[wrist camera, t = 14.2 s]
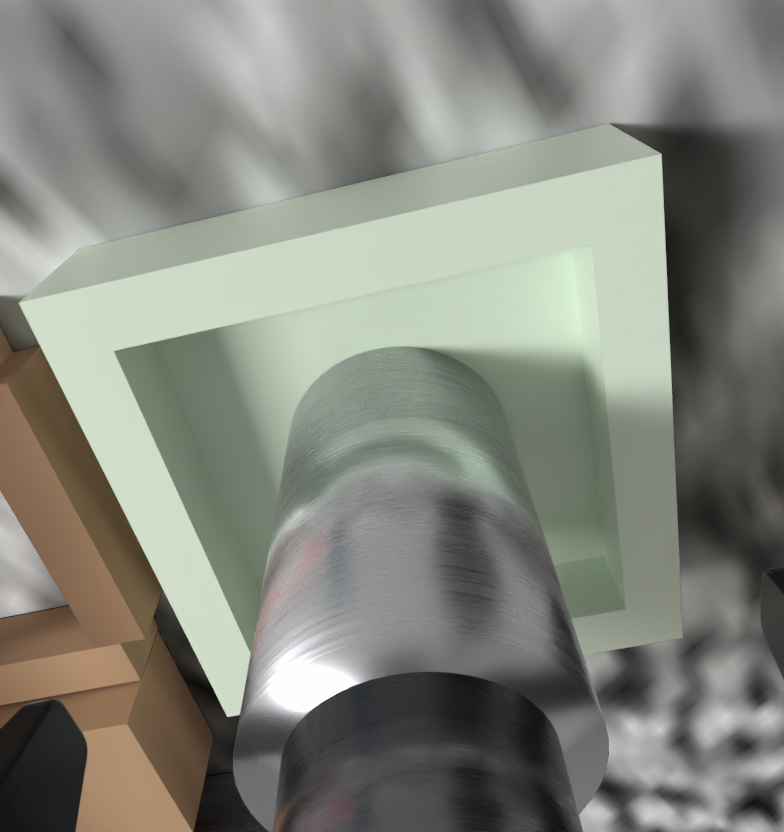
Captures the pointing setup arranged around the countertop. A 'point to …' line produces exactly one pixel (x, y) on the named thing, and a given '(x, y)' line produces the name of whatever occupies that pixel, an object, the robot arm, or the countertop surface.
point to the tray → (379, 328)
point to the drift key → (224, 808)
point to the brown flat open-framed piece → (93, 619)
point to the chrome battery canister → (412, 621)
